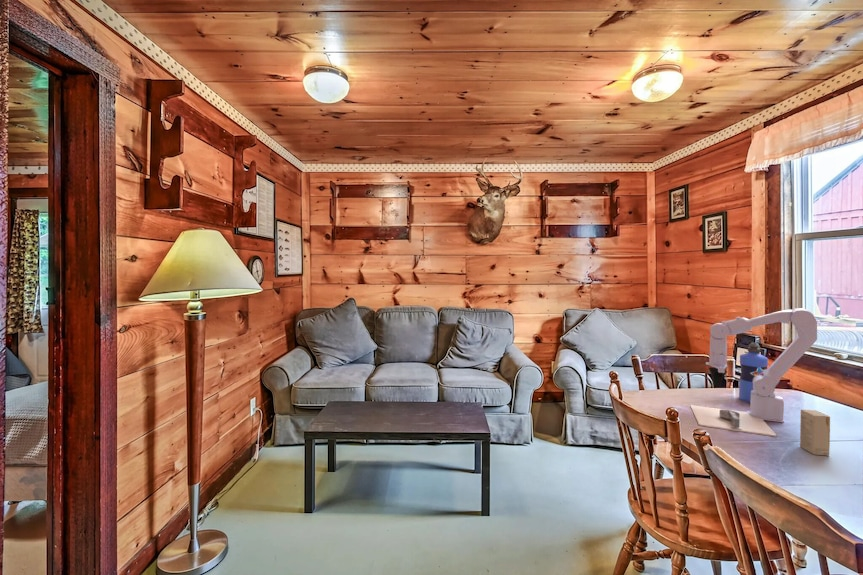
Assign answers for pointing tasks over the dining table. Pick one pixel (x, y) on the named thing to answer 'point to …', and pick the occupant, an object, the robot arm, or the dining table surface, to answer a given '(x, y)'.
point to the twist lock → (730, 416)
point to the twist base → (746, 423)
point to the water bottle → (750, 370)
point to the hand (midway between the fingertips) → (716, 386)
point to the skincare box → (815, 432)
